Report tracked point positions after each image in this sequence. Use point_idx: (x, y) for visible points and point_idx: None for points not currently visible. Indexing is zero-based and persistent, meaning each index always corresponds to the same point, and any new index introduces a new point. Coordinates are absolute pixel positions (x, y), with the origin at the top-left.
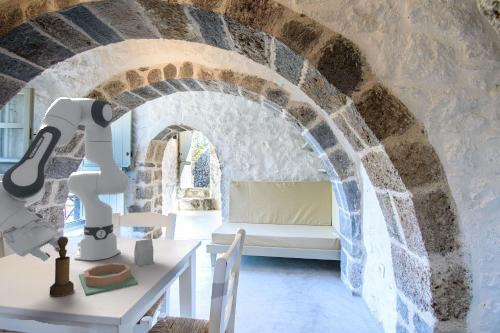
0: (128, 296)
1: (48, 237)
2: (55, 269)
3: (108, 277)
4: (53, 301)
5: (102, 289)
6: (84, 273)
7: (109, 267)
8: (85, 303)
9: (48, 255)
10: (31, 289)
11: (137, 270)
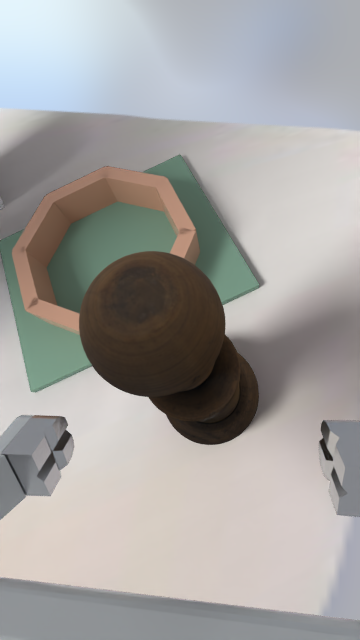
0: (282, 156)
1: (2, 638)
2: (224, 412)
3: (186, 213)
4: (303, 391)
5: (226, 241)
6: None
7: (36, 263)
8: (331, 264)
9: (356, 428)
10: (146, 566)
11: None
